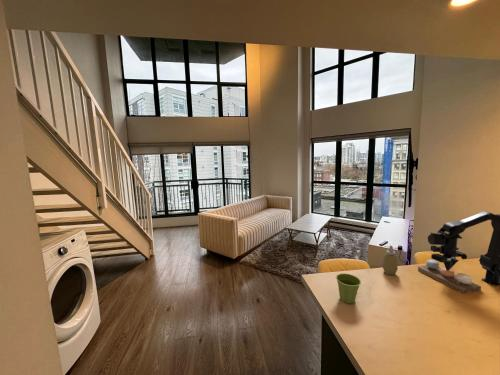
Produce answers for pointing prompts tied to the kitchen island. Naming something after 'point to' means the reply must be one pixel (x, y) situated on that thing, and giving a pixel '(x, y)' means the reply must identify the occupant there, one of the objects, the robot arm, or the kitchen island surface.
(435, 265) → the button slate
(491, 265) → the robot arm
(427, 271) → the button board
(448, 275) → the peach rounded lump
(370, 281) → the kitchen island surface
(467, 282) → the cream white rounded ball
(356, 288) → the plant pot
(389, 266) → the squeeze bottle
